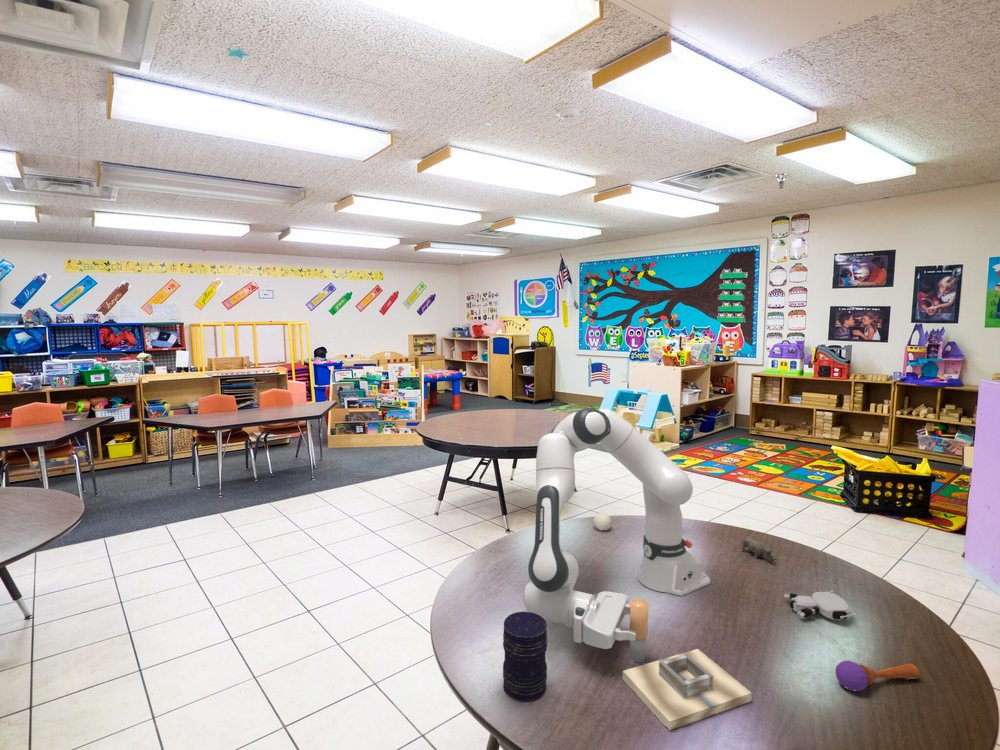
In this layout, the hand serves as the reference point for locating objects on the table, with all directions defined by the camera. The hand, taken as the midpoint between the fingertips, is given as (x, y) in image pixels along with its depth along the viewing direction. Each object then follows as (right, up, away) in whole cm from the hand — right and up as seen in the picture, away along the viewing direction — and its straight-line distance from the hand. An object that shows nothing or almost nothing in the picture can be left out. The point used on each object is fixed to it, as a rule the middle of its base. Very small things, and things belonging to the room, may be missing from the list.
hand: (639, 625), depth 123 cm
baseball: (+7, -1, +79) cm, 79 cm away
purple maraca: (+52, -10, -8) cm, 54 cm away
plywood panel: (+7, -9, -10) cm, 16 cm away
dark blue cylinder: (-29, -9, -9) cm, 31 cm away
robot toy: (+56, -7, +20) cm, 60 cm away
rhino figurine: (+57, -4, +54) cm, 79 cm away
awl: (0, -8, +1) cm, 8 cm away
